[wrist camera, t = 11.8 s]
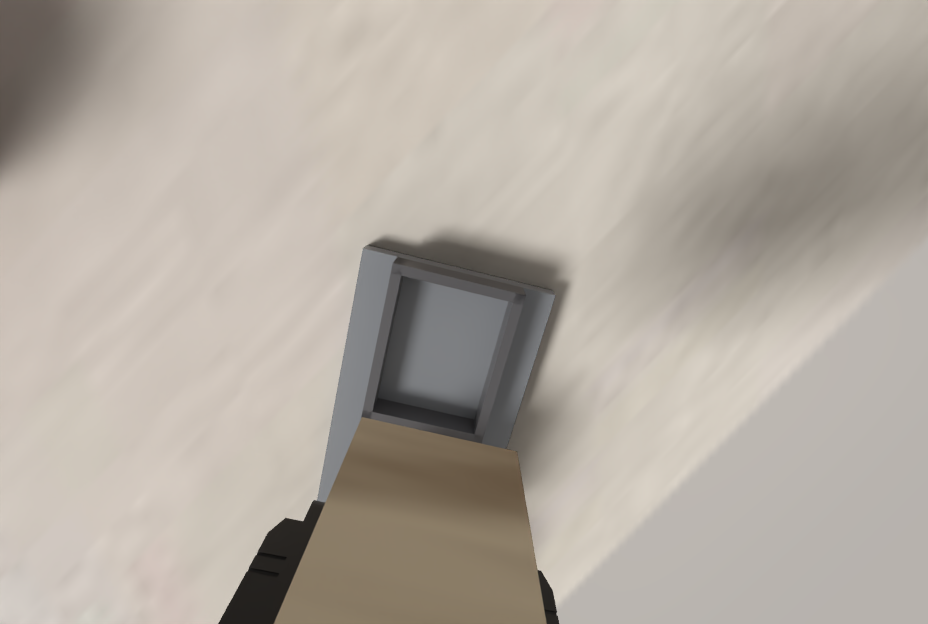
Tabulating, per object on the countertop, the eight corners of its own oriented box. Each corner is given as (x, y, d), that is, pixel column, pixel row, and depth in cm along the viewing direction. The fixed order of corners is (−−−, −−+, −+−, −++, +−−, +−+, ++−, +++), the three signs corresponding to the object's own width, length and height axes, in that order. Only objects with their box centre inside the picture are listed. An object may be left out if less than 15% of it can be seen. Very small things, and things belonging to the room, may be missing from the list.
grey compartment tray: (367, 245, 24) (338, 267, 19) (552, 290, 24) (575, 324, 19) (301, 600, 31) (268, 688, 26) (444, 628, 32) (440, 719, 27)
